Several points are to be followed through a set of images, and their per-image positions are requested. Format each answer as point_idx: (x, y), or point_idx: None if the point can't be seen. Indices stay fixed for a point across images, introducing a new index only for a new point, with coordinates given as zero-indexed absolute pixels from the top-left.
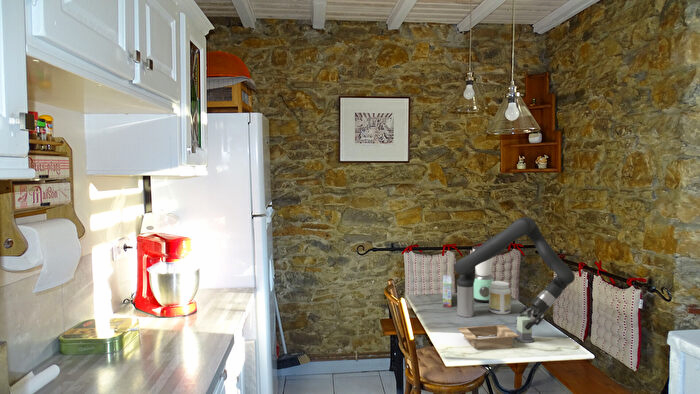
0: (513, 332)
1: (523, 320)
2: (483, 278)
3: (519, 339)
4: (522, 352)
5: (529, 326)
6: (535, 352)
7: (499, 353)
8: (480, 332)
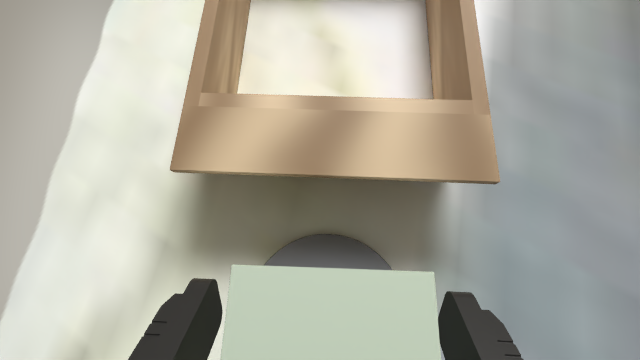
0: (273, 165)
1: (231, 290)
2: None
3: (308, 257)
4: (120, 163)
5: (152, 335)
6: (81, 251)
7: (164, 34)
8: (439, 16)
